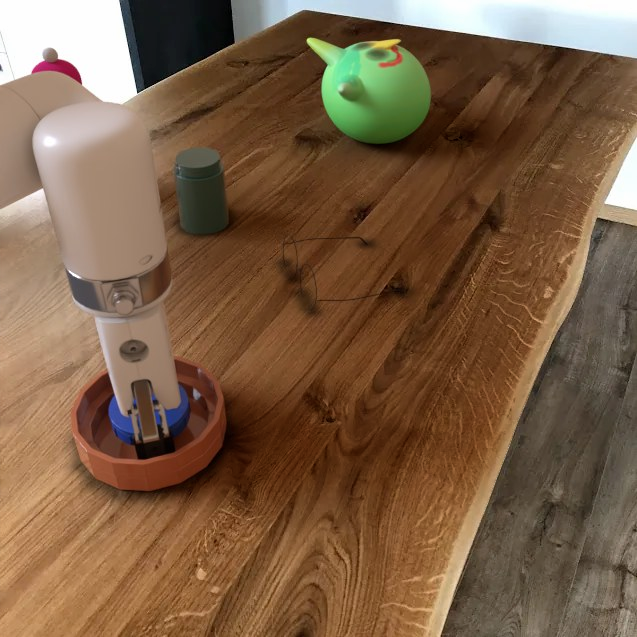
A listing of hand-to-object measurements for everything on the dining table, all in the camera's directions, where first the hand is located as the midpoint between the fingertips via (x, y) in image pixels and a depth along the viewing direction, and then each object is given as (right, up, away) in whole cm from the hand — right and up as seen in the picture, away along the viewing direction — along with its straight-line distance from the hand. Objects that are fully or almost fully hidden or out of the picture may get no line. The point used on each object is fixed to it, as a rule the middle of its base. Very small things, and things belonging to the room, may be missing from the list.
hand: (153, 430), depth 66 cm
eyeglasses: (+18, +15, +19) cm, 30 cm away
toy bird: (+23, +39, +48) cm, 66 cm away
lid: (0, +2, -2) cm, 3 cm away
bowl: (0, -1, 0) cm, 1 cm away
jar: (0, +22, +28) cm, 36 cm away
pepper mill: (-17, +27, +34) cm, 47 cm away
